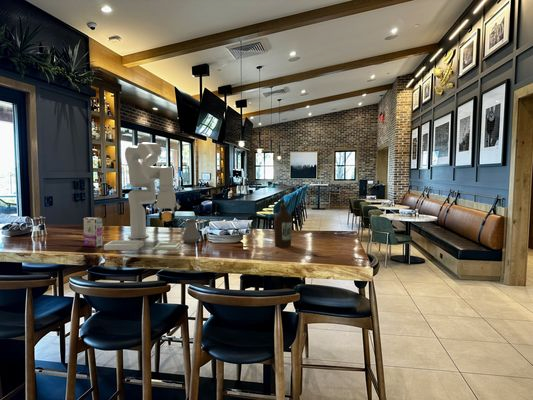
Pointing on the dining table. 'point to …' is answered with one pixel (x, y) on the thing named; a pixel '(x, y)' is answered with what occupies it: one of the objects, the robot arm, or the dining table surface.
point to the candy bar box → (93, 232)
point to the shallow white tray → (124, 245)
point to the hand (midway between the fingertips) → (167, 219)
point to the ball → (166, 216)
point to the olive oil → (283, 228)
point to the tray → (167, 246)
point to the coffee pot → (191, 232)
